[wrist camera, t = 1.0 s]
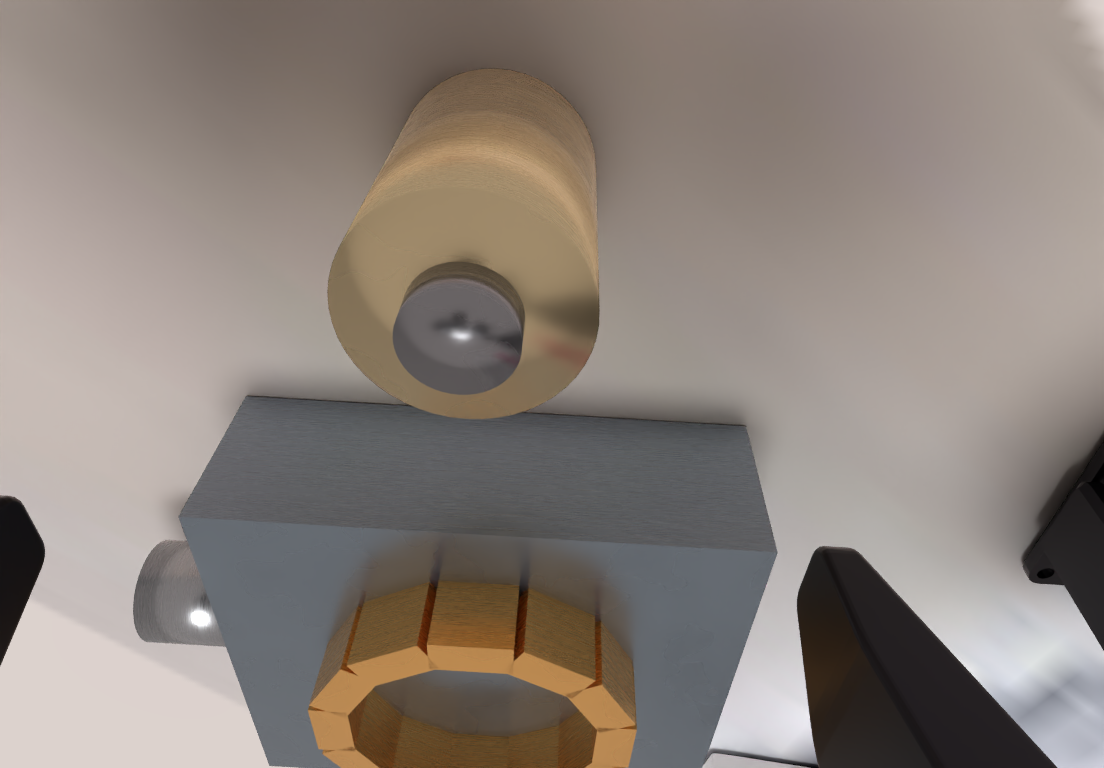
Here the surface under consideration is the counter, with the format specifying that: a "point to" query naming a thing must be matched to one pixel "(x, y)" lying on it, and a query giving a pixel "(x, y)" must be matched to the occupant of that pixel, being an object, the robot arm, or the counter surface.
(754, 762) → the milk carton
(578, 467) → the gearbox
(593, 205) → the beige cylinder
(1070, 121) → the counter surface
